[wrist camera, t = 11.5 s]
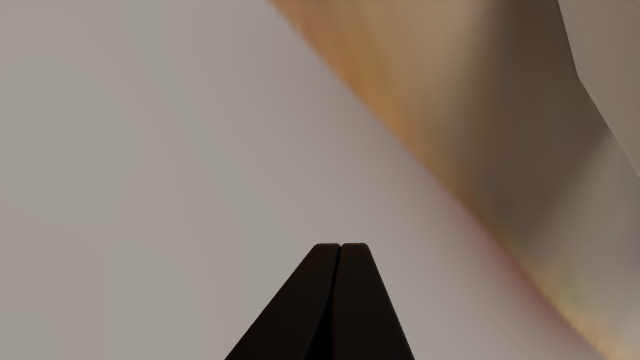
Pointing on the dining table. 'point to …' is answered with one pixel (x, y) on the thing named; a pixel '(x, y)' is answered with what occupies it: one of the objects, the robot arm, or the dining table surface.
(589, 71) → the domino
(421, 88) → the dining table surface
